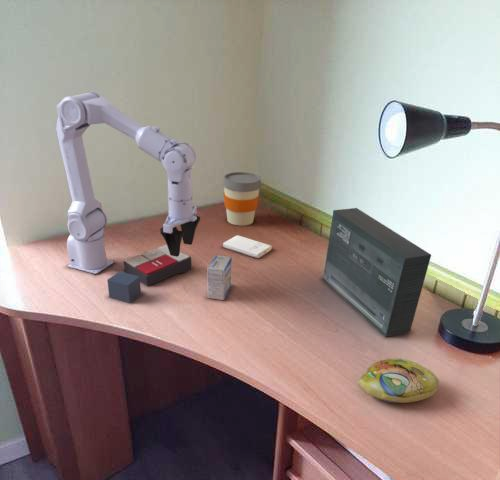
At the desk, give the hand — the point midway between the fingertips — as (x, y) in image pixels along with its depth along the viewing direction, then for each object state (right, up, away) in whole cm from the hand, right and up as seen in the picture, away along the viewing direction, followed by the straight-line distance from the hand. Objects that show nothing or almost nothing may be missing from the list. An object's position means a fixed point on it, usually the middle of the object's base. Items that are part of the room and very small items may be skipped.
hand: (181, 249), depth 124 cm
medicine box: (+9, -11, +2) cm, 15 cm away
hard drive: (+16, +3, +26) cm, 31 cm away
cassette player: (+46, -14, +1) cm, 48 cm away
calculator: (-8, -5, +11) cm, 14 cm away
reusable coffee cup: (+14, +16, +45) cm, 50 cm away
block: (-14, -12, -2) cm, 18 cm away
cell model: (+46, -32, -27) cm, 62 cm away
